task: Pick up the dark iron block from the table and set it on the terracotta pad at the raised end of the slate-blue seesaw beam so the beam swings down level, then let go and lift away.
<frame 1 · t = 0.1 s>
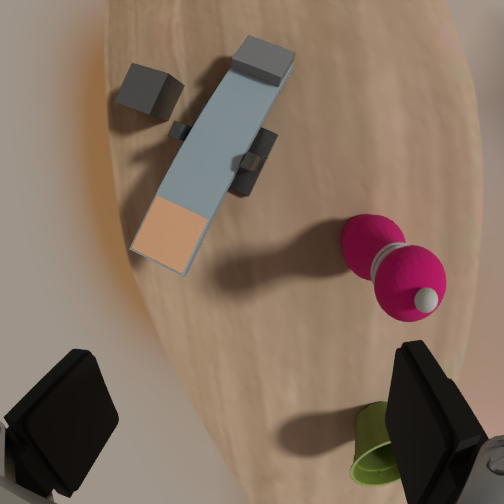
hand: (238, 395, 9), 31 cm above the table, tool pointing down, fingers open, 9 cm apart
stand: (226, 149, 37), on the table
beam: (216, 142, 30), point 7 cm above the table, hinge at -20.0°
pepper mill: (364, 238, 38), on the table
plant pot: (376, 414, 45), on the table
iron block: (159, 97, 36), on the table
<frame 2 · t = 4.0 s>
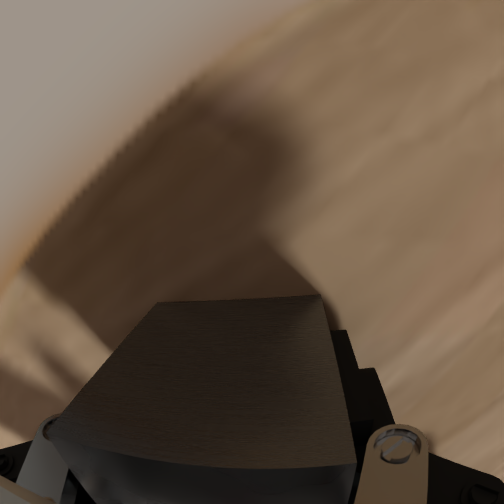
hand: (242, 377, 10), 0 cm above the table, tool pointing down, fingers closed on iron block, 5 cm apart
iron block: (244, 368, 10), on the table, touching gripper
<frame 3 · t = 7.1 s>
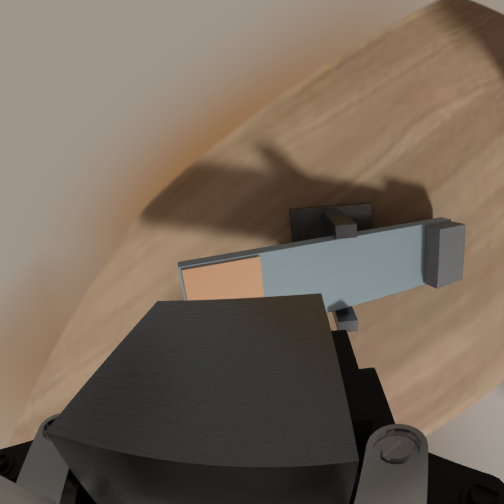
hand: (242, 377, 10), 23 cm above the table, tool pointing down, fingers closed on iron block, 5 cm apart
stand: (332, 252, 32), on the table
beam: (348, 274, 25), point 7 cm above the table, hinge at -20.0°
iron block: (244, 367, 10), point 23 cm above the table, touching gripper
when the fingers open (12 cm above the table, at t = 10.4 s): iron block drops 2 cm, resting on beam.
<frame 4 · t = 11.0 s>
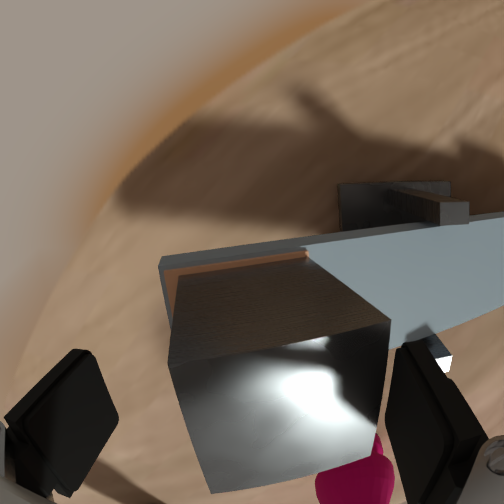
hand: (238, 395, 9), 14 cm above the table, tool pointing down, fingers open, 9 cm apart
stand: (395, 250, 21), on the table
beam: (441, 285, 14), point 7 cm above the table, hinge at -15.6°, touching iron block
pepper mill: (349, 446, 26), on the table
iron block: (251, 324, 13), point 10 cm above the table, tilted 16°, touching beam
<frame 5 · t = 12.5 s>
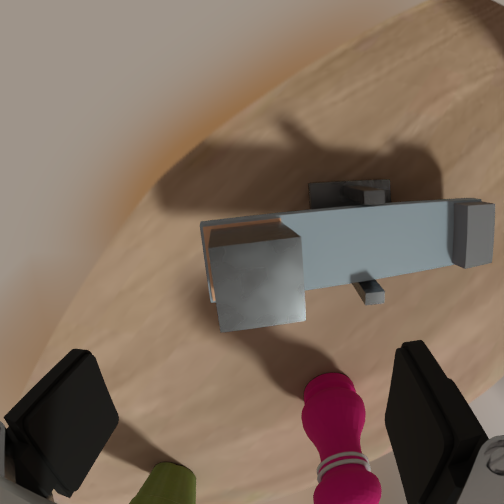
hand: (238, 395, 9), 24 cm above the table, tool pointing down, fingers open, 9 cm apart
stand: (351, 229, 31), on the table
beam: (372, 245, 24), point 7 cm above the table, hinge at -10.0°, touching iron block
pepper mill: (328, 390, 36), on the table
plant pot: (176, 472, 43), on the table
iron block: (249, 259, 24), point 9 cm above the table, tilted 10°, touching beam
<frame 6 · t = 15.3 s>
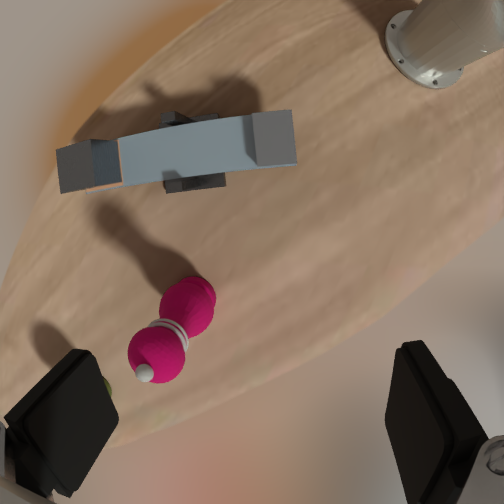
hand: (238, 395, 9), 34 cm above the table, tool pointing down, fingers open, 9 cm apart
stand: (192, 153, 41), on the table
beam: (175, 151, 34), point 7 cm above the table, hinge at 0.2°, touching iron block
pepper mill: (195, 295, 46), on the table
iron block: (102, 165, 35), point 7 cm above the table, touching beam
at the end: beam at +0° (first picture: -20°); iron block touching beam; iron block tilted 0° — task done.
